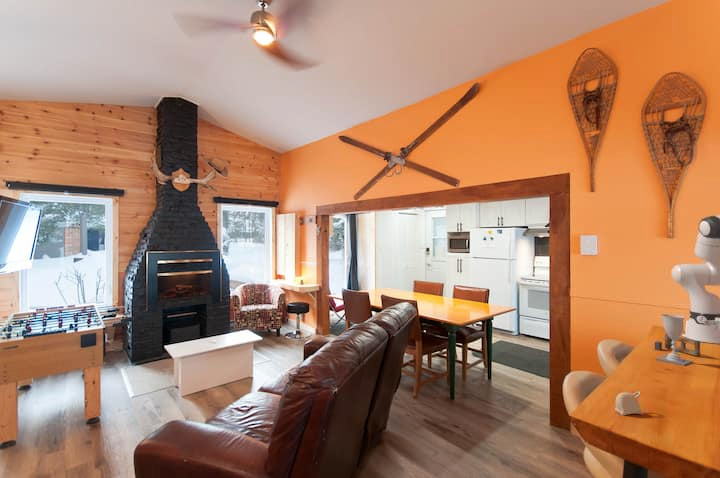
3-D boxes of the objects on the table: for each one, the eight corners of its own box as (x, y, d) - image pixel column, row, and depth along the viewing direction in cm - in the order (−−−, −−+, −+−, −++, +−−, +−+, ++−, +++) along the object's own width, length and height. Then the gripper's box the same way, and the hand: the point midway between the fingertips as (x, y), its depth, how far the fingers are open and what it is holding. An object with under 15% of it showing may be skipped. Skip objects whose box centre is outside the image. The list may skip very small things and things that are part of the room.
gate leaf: (663, 347, 160) (663, 334, 160) (667, 346, 160) (667, 334, 160) (696, 356, 146) (696, 342, 147) (701, 355, 147) (700, 341, 147)
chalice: (658, 357, 144) (657, 315, 144) (668, 355, 146) (667, 313, 147) (680, 363, 137) (679, 318, 138) (689, 361, 140) (688, 317, 140)
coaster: (664, 356, 148) (664, 354, 148) (692, 362, 140) (692, 360, 140) (655, 359, 143) (655, 358, 143) (684, 365, 136) (684, 364, 136)
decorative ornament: (609, 409, 99) (609, 390, 99) (636, 408, 100) (635, 389, 100) (621, 415, 95) (621, 396, 95) (649, 414, 96) (648, 395, 96)
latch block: (657, 348, 159) (657, 341, 159) (661, 349, 158) (661, 341, 158) (654, 349, 158) (654, 341, 158) (659, 350, 156) (659, 342, 156)
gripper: (743, 316, 146) (699, 312, 153) (768, 326, 129) (717, 322, 136) (743, 331, 146) (699, 326, 153) (768, 343, 129) (717, 338, 136)
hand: (708, 324), depth 144 cm, fingers open, 8 cm apart
